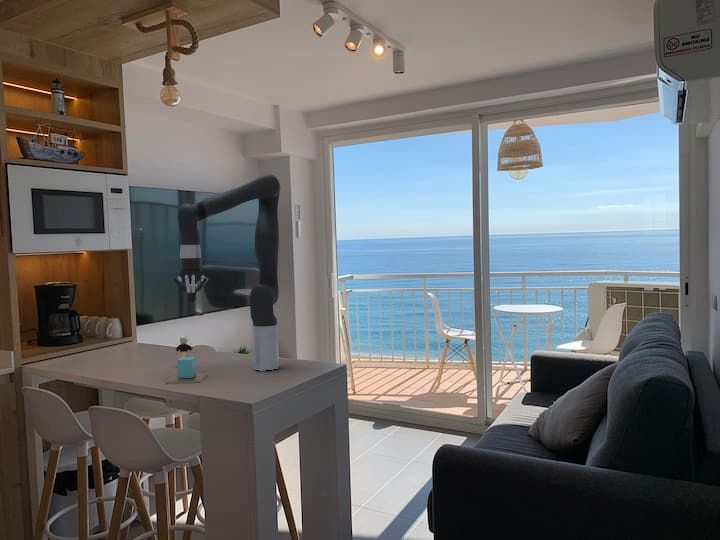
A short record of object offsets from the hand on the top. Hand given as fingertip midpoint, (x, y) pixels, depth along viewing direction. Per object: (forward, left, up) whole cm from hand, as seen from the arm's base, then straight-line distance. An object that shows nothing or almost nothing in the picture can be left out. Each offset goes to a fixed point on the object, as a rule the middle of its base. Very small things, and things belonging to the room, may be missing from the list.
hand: (192, 302), depth 201 cm
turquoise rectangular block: (0, +10, -26) cm, 28 cm away
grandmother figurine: (+7, -12, -27) cm, 31 cm away
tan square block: (0, +10, -27) cm, 29 cm away
